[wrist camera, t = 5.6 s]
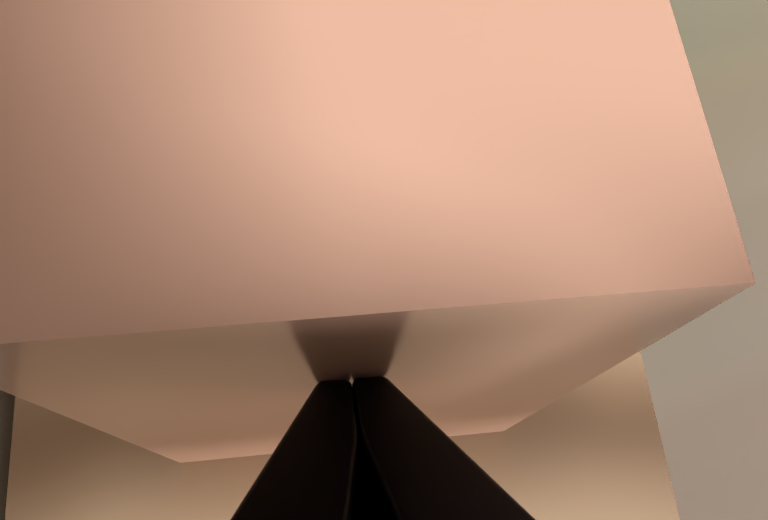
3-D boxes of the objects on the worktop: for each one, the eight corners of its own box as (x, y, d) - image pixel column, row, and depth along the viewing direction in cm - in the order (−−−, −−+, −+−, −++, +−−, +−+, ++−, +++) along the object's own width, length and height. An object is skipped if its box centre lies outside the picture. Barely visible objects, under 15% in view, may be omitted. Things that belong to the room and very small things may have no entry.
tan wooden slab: (680, 697, 15) (727, 721, 14) (26, 786, 14) (-22, 826, 12) (574, 209, 20) (599, 176, 18) (62, 244, 18) (31, 212, 17)
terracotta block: (503, 431, 15) (755, 283, 6) (180, 462, 15) (-95, 351, 5) (459, 153, 18) (591, -258, 8) (180, 169, 17) (-8, -253, 8)
